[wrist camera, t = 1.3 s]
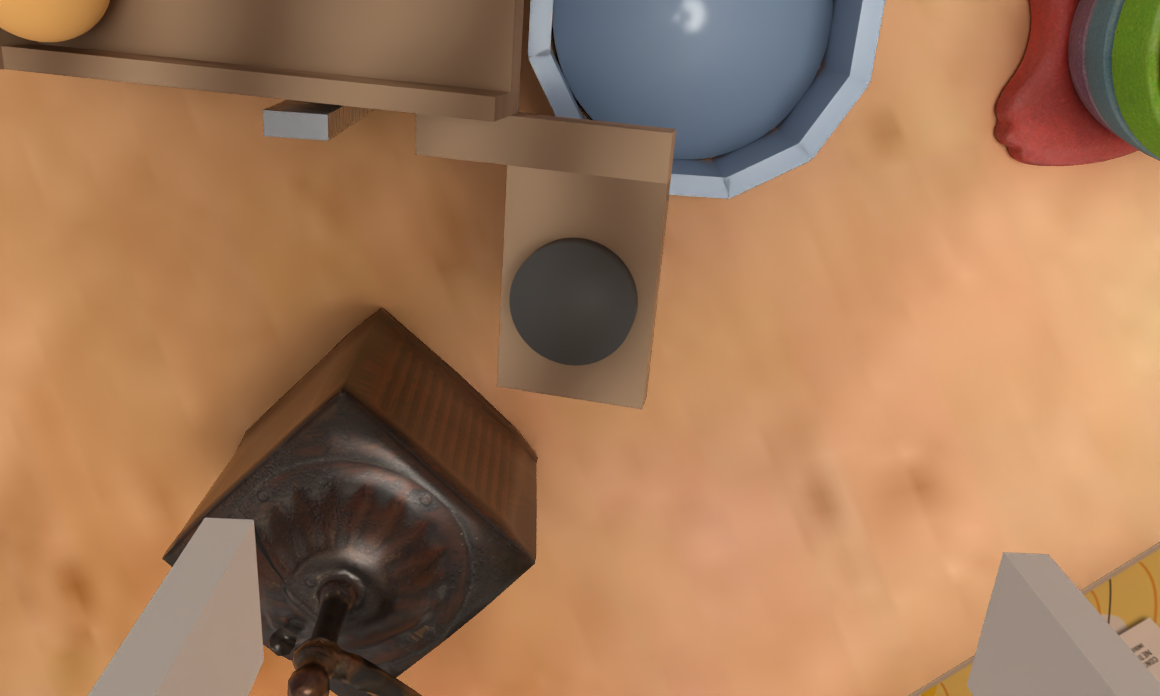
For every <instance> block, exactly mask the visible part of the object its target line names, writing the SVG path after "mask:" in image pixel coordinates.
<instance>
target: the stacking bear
mask: <svg viewBox="0 0 1160 696" xmlns="http://www.w3.org/2000/svg"><path fill="white" fill-rule="evenodd" d="M1030 6H1031V15H1032V19H1031V33H1030V38H1029V43H1028V47H1027V50H1026V53H1025V56H1024V58H1023V61H1022V63H1021V65H1020V66H1019V68H1018V70H1017V71H1016V73H1015V74H1014V76H1013V77H1012V79H1011V80H1010V81H1009V83H1008V84H1007V86H1006V87H1005V89H1004V90H1003V92H1002V94H1001V96H1000V98H999V100H998V103H997V108H996V114H997V117H998V123H997V126H996V129H995V135H996V138H997V139H998V141H999V142H1000V143H1001V144H1003V145H1006V146H1007V148H1008V151H1009V153H1010V155H1011V156H1012V157H1013V158H1014V159H1016V160H1018V161H1020V162H1023V163H1026V164H1032V165H1038V166H1070V165H1081V164H1089V163H1095V162H1101V161H1106V160H1109V159H1113V158H1117V157H1121V156H1124V155H1127V154H1130V153H1133V152H1135V151H1138V150H1140V151H1142V152H1143V153H1145V154H1147V155H1149V156H1151V157H1153V158H1155V159H1157V160H1159V161H1160V0H1030Z"/></svg>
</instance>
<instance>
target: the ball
mask: <svg viewBox="0 0 1160 696" xmlns="http://www.w3.org/2000/svg"><path fill="white" fill-rule="evenodd" d="M109 2H110V0H0V28H2V29H4V30H5V31H7V32H9V33H11V34H14V35H16V36H18V37H21V38H25V39H28V40H32V41H38V42H60V41H66V40H70V39H73V38H76V37H78V36H80V35H82V34H84V33H86V32H87V31H89V30H90V29H92V28H93V27H94V26H95V25H96V24H97V23H98V22H99V21H100V19H101V18H102V17H103V15H104V14H105V12H106V10H107V8H108V5H109Z"/></svg>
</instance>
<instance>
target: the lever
mask: <svg viewBox="0 0 1160 696" xmlns="http://www.w3.org/2000/svg"><path fill="white" fill-rule="evenodd" d="M523 11H524V0H110V2H109V5H108V8H107V10H106V12H105V14H104V15H103V17H102V18H101V19H100V21H99V22H98V23H97V24H96V25H95V26H94V27H93V28H92V29H90V30H89V31H87V32H86V33H84V34H82V35H80V36H78V37H76V38H73V39H70V40H66V41H60V42H38V41H32V40H28V39H25V38H21V37H18V36H16V35H14V34H11V33H9V32H7V31H5V30H4V29H2V28H0V69H9V70H18V71H27V72H36V73H46V74H55V75H64V76H73V77H83V78H92V79H101V80H111V81H120V82H129V83H138V84H148V85H157V86H166V87H175V88H185V89H194V90H203V91H212V92H222V93H231V94H240V95H249V96H259V97H268V98H277V99H286V100H296V101H305V102H314V103H324V104H333V105H342V106H351V107H361V108H370V109H379V110H388V111H398V112H407V113H416V155H423V156H432V157H441V158H449V159H458V160H466V161H475V162H484V163H492V164H501V165H507V180H506V202H505V223H504V244H503V265H502V287H501V308H500V329H499V350H498V371H497V386H498V387H504V388H510V389H517V390H523V391H529V392H536V393H542V394H548V395H555V396H561V397H567V398H574V399H580V400H586V401H593V402H599V403H605V404H612V405H618V406H624V407H631V408H637V409H642V408H643V406H644V403H645V400H646V397H647V388H648V379H649V370H650V361H651V352H652V343H653V334H654V325H655V316H656V307H657V298H658V289H659V280H660V272H661V263H662V254H663V245H664V236H665V227H666V218H667V209H668V200H669V191H670V182H671V173H672V164H673V155H674V147H675V138H676V129H671V128H662V127H652V126H643V125H633V124H624V123H614V122H605V121H595V120H586V119H576V118H567V117H557V116H548V115H539V114H529V113H520V112H518V110H519V90H520V71H521V51H522V31H523Z"/></svg>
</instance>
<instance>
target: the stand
mask: <svg viewBox="0 0 1160 696" xmlns="http://www.w3.org/2000/svg"><path fill="white" fill-rule="evenodd" d="M373 110H374V109H370V108H361V107H351V106H342V105H333V104H324V103H314V102H305V101H296V100H285V101H283V102H281V103H278V104H276V105H274V106H271V107H269V108H266V109H264V110H263V127H264V136H269V137H283V138H297V139H311V140H325V141H329V140H330V139H332V138H333V137H335V136H336V135H337V134H339V133H340V132H342V131H343V130H345V129H346V128H348V127H349V126H351V125H352V124H354V123H355V122H357V121H358V120H360V119H361V118H362V117H364V116H365V115H367V114H368V113H370V112H371V111H373Z"/></svg>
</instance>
